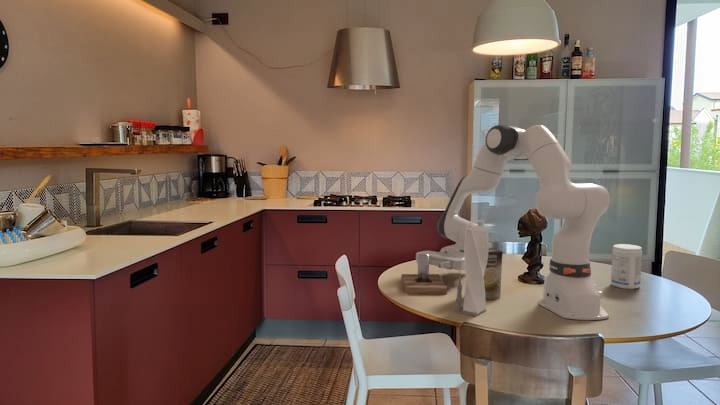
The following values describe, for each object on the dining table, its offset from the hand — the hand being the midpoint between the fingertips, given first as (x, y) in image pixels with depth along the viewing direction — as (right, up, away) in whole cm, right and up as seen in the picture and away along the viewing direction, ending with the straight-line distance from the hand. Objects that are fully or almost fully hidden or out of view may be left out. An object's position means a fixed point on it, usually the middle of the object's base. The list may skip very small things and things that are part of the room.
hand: (429, 263), depth 189 cm
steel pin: (-2, -8, -2) cm, 9 cm away
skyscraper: (+10, -12, -28) cm, 32 cm away
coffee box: (+17, -10, -13) cm, 24 cm away
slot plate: (-2, -8, -2) cm, 9 cm away
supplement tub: (+72, -9, +1) cm, 72 cm away
